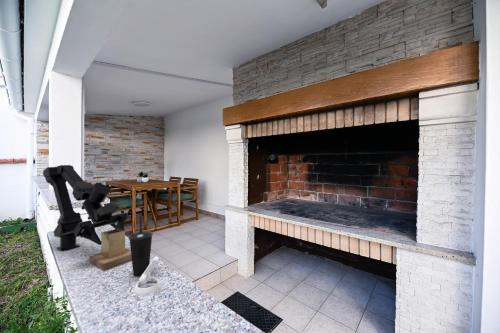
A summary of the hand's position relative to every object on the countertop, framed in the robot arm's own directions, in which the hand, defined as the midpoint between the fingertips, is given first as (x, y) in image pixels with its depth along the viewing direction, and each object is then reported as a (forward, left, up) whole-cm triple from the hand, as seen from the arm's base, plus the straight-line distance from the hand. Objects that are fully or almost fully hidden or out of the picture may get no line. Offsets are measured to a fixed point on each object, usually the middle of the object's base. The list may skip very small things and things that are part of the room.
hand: (112, 240), depth 86 cm
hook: (+29, -4, -8) cm, 31 cm away
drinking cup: (+19, 0, -8) cm, 21 cm away
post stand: (0, 0, -8) cm, 8 cm away
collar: (0, 0, -6) cm, 6 cm away
